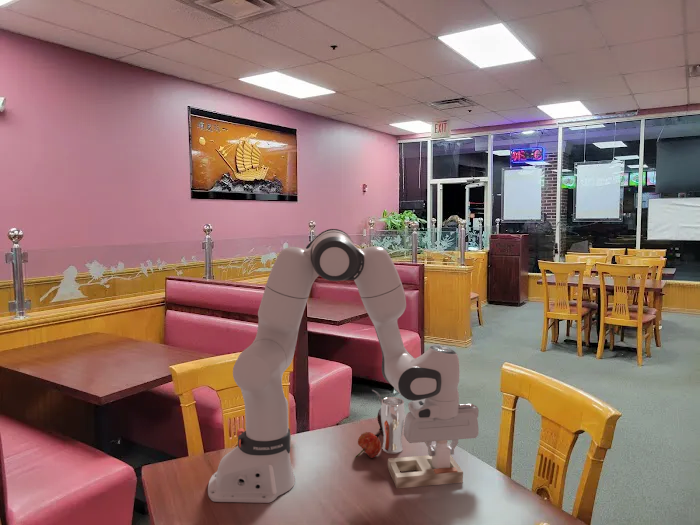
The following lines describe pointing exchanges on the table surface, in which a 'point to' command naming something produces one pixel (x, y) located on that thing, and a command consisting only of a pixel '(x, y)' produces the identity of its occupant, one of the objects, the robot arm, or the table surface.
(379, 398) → the mate gourd
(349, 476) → the table surface
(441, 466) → the pepper shaker
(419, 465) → the slot rack
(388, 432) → the beer glass
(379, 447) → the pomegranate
